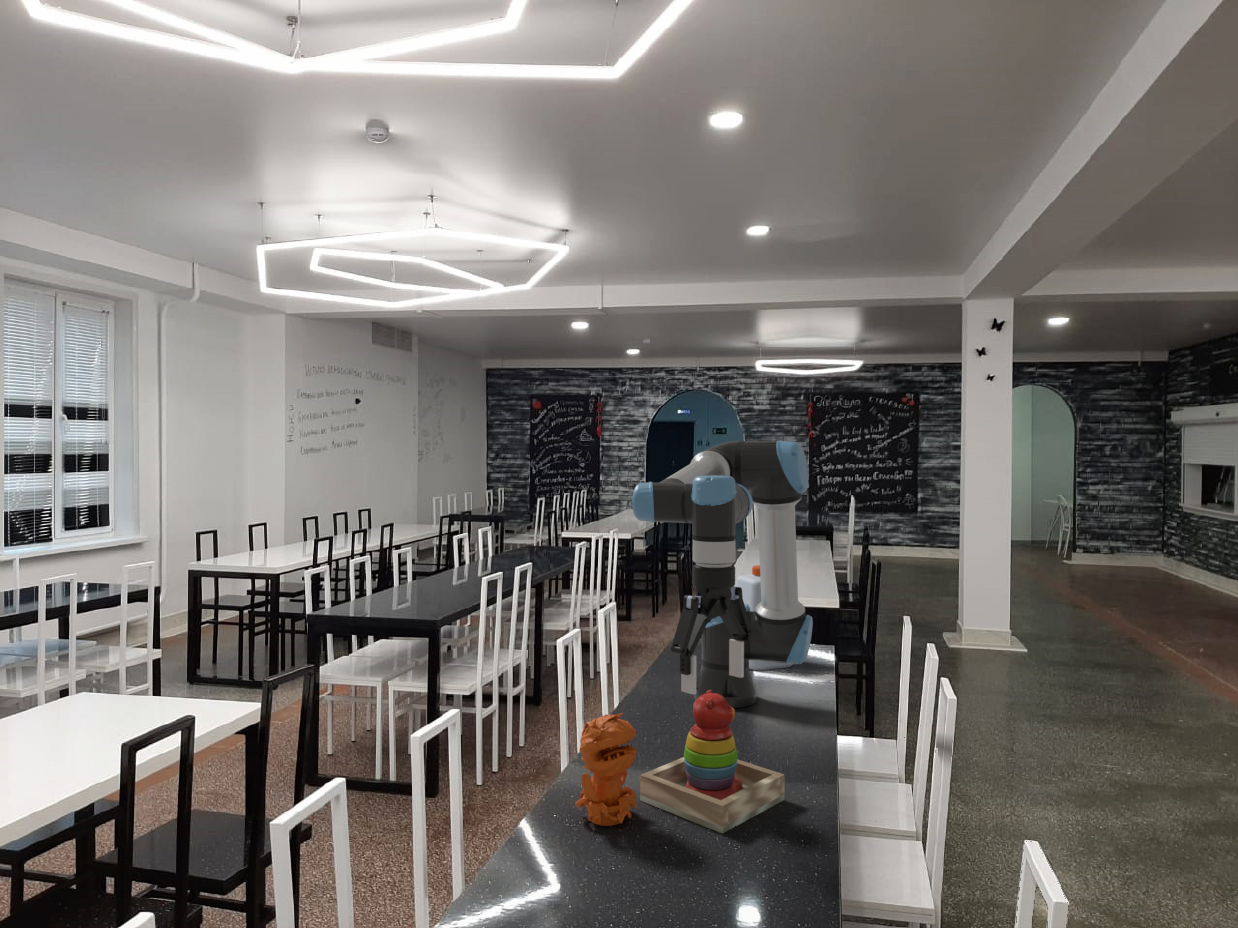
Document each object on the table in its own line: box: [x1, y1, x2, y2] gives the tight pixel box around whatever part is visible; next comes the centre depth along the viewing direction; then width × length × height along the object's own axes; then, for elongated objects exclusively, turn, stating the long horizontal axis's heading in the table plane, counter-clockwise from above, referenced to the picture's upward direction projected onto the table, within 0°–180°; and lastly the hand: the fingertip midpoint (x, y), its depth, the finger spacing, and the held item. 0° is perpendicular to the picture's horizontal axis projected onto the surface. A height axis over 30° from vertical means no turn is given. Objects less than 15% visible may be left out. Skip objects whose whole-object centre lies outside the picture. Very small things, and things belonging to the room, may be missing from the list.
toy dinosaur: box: [574, 712, 638, 827], centre depth 139 cm, size 11×11×18 cm
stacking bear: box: [683, 690, 742, 800], centre depth 147 cm, size 11×10×18 cm
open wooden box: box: [639, 756, 785, 834], centre depth 147 cm, size 18×18×4 cm
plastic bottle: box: [736, 564, 793, 671], centre depth 239 cm, size 15×15×28 cm
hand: (713, 684), depth 147 cm, fingers open, 13 cm apart
